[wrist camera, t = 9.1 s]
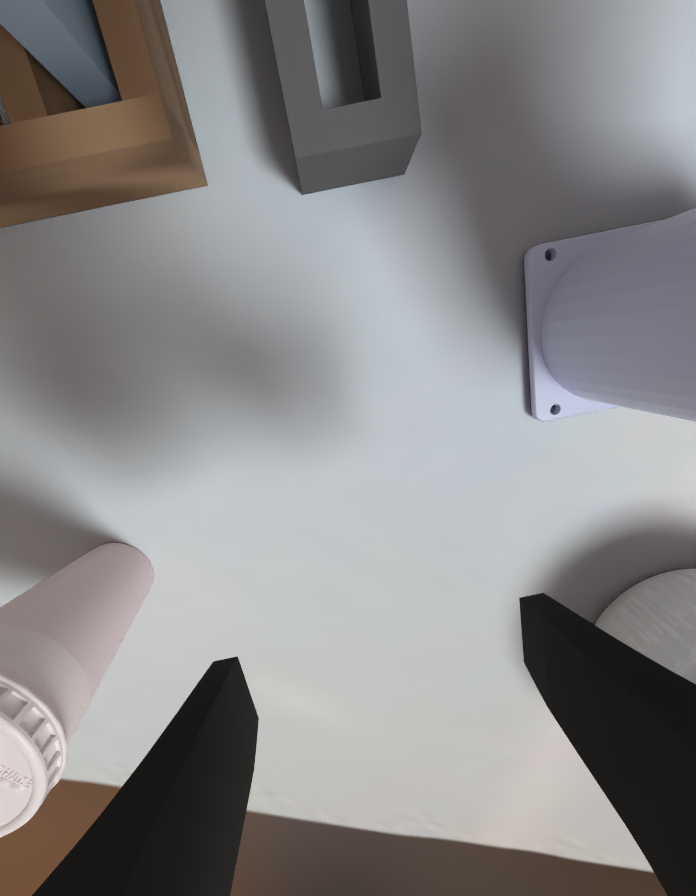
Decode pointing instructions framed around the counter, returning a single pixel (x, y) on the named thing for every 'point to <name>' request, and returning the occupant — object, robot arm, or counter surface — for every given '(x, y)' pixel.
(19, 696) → the smoothie
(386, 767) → the counter surface
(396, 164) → the stand
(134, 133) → the rack
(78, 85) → the blue grey tile
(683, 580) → the ramekin
